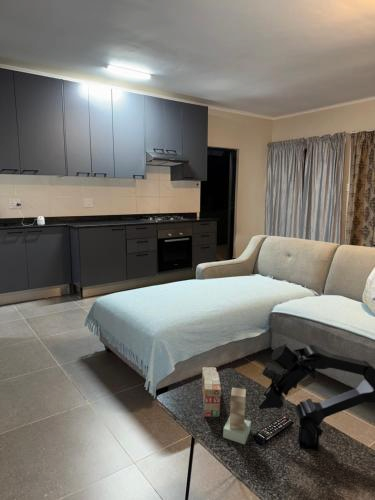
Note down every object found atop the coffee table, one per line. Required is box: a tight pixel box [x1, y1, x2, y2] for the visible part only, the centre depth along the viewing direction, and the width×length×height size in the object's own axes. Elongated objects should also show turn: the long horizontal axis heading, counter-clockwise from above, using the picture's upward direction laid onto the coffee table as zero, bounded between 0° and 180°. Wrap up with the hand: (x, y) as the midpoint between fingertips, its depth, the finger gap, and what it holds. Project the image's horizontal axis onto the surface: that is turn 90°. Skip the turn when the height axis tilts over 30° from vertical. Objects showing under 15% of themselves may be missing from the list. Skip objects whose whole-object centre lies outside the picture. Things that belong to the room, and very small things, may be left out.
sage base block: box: [222, 416, 252, 445], centre depth 126 cm, size 8×8×4 cm
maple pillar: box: [229, 387, 247, 431], centre depth 124 cm, size 5×5×13 cm
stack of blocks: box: [201, 366, 222, 418], centre depth 144 cm, size 21×6×12 cm, turn 0°
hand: (261, 401), depth 123 cm, fingers open, 9 cm apart
